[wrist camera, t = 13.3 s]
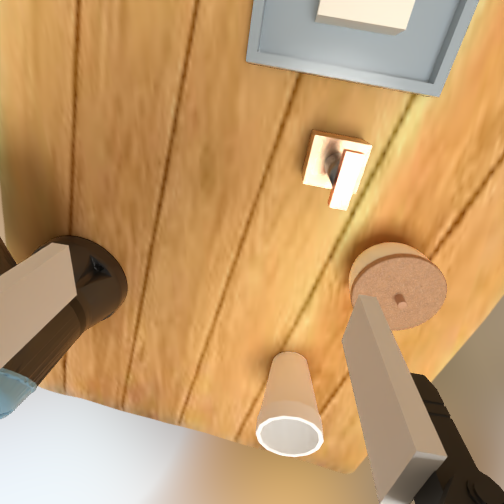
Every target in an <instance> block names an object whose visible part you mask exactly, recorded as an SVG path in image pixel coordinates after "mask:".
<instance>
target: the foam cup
mask: <svg viewBox="0 0 504 504" xmlns="http://www.w3.org/2000/svg"><path fill="white" fill-rule="evenodd" d="M256 435H257V438H258V441H259V443H260V444H261V445H262V446H264V447H265V448H266V449H267V450H269V451H271V452H274V453H276V454H279V455H283V456H291V457H298V456H305V455H309V454H311V453H313V452H315V451H317V450H319V448H320V446H321V445H322V443H323V442H324V440H323V429H322V422H321V416H320V415H319V413H318V409H317V404H316V399H315V395H314V390H313V386H312V381H311V377H310V372H309V368H308V363H307V360H306V359H305V358H304V357H303V356H302V355H300V354H298V353H296V352H289V351H286V352H282V353H279V354H278V355H277V356H275V357H274V359H273V362H272V365H271V369H270V373H269V377H268V381H267V386H266V390H265V394H264V398H263V402H262V406H261V410H260V413H259V415H258V417H257V426H256Z"/></svg>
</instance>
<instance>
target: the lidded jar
mask: <svg viewBox="0 0 504 504" xmlns="http://www.w3.org/2000/svg"><path fill="white" fill-rule="evenodd" d="M349 290H350V297H351V302H352V306H353V309H354V306H355V303H356V301H357V298H358V295H359V294H360V295H366V296H372V297H376V298H377V300H378V302H379V305H380V307H381V309H382V311H383V314H384V316H385V318H386V320H387V322H388V325H389V327H390V329H391V330H404V329H409V328H413V327H415V326H418V325H420V324H422V323H424V322H426V321H427V320H429V319H430V318H431V317H433V316H434V315H435V314H436V313H437V312H438V310H439V309H440V308H441V306H442V305H443V303H444V300H445V298H446V293H447V284H446V280H445V278H444V276H443V274H442V272H441V271H440V270H439V269H438V267H437V266H436V265H434V264H433V263H432V262H431V261H430V260H429V259H428V258H427V257H426V256H425V255H424V254H422V253H421V252H420V251H418V250H417V249H415V248H413V247H411V246H409V245H406V244H402V243H397V242H385V243H380V244H376V245H374V246H371V247H369V248H368V249H366V250H365V251H363V252H362V253H361V254H360V255H359V256H358V257H357V258H356V260H355V261H354V263H353V265H352V267H351V270H350V274H349Z"/></svg>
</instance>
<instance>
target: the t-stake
mask: <svg viewBox="0 0 504 504" xmlns="http://www.w3.org/2000/svg"><path fill="white" fill-rule="evenodd" d="M371 148H372V145H371V144H369V143H368V142H366V141H365V140H363V139H360V138H355V137H349V136H344V135H339V134H333V133H328V132H323V131H318V130H312V133H311V137H310V141H309V145H308V149H307V153H306V157H305V161H304V166H303V170H302V180H303V184H308V185H313V186H318V187H323V188H328V189H331V193H330V196H329V200H328V205H329V207H331V208H336V209H341V210H346V211H347V208H348V205H349V202H350V199H351V196H352V193H354V194H356V193H357V190H358V187H359V184H360V181H361V178H362V175H363V172H364V169H365V166H366V163H367V160H368V157H369V154H370V151H371Z"/></svg>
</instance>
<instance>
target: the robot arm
mask: <svg viewBox="0 0 504 504" xmlns="http://www.w3.org/2000/svg"><path fill="white" fill-rule="evenodd" d="M126 294H127V281H126V278H125V275H124V272H123V270H122V268H121V267H120V265H119V264H118V262H117V261H116V260H115V259H114V258H113V257H112V255H110V254H109V253H108V252H107V251H106V250H105V249H103V248H102V247H100V246H99V245H97V244H95V243H93V242H91V241H89V240H86V239H83V238H80V237H75V236H61V237H56V238H54V239H51V240H50V241H48V242H46V243H45V244H43V245H42V246H40V247H39V248H38V249H36V250H35V251H34V253H33V254H32V255H31V256H30V257H29V258H27V259H26V260H24V261H23V262H21V263H19V264H18V265H17V264H16V262H15V261H14V259H13V257H12V256H11V254H10V252H9V251H8V249H7V248H6V246H5V244H4V243H3V241H2V239H1V238H0V419H2V418H4V417H6V416H7V415H9V414H10V413H12V412H13V411H14V410H15V409H16V408H17V407H18V406H19V405H20V404H21V403H22V402H23V401H24V400H25V399H26V398H27V397H28V396H29V395H30V394H31V393H33V392H34V391H35V390H36V388H37V386H38V385H39V384H40V383H41V381H42V380H43V379H44V378H45V377H46V375H47V374H48V373H49V372H50V371H51V370H52V368H53V367H54V366H55V365H56V364H57V362H58V361H59V360H60V359H61V358H62V357H63V355H64V354H65V353H66V352H67V351H68V349H69V348H70V347H71V346H72V345H73V344H74V342H75V341H76V340H77V339H78V338H79V337H80V335H81V334H82V333H83V332H84V331H85V330H87V329H89V328H90V327H92V326H93V325H95V324H97V323H98V322H100V321H102V320H104V319H106V318H108V317H110V316H111V315H112V314H114V313H115V312H116V310H117V309H118V308H119V307H120V306H121V304H122V303H123V302H124V300H125V298H126ZM342 344H343V348H344V353H345V357H346V361H347V366H348V370H349V374H350V379H351V383H352V387H353V392H354V396H355V400H356V405H357V409H358V413H359V418H360V422H361V427H362V431H363V435H364V440H365V444H366V448H367V453H368V457H369V461H370V466H371V470H372V474H373V479H374V483H375V487H376V492H377V496H378V500H379V504H410V503H411V502H412V501H413V500H414V501H415V504H504V491H503V490H502V489H501V488H500V487H499V485H497V484H496V483H495V482H494V481H493V480H492V479H491V478H490V477H488V476H487V475H485V474H483V473H482V472H480V471H479V470H478V468H477V467H476V465H475V463H474V461H473V459H472V457H471V455H470V453H469V451H468V449H467V447H466V445H465V444H464V442H463V440H462V438H461V436H460V434H459V432H458V430H457V428H456V426H455V424H454V422H453V420H452V419H450V414H449V412H448V410H447V408H446V407H445V406H444V403H443V401H442V399H441V397H440V395H439V393H438V391H437V389H436V388H435V387H434V386H433V385H432V383H431V382H430V381H429V380H428V379H427V378H426V377H425V376H424V375H420V374H414V373H410V372H409V369H408V367H407V365H406V363H405V360H404V358H403V356H402V354H401V352H400V349H399V347H398V345H397V343H396V340H395V338H394V336H393V334H392V331H391V329H390V327H389V325H388V322H387V320H386V318H385V316H384V314H383V311H382V309H381V307H380V305H379V302H378V300H377V298H376V297H372V296H366V295H360V294H359V295H358V298H357V301H356V303H355V306H354V309H353V311H352V314H351V317H350V319H349V322H348V325H347V327H346V330H345V333H344V335H343V338H342Z"/></svg>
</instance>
